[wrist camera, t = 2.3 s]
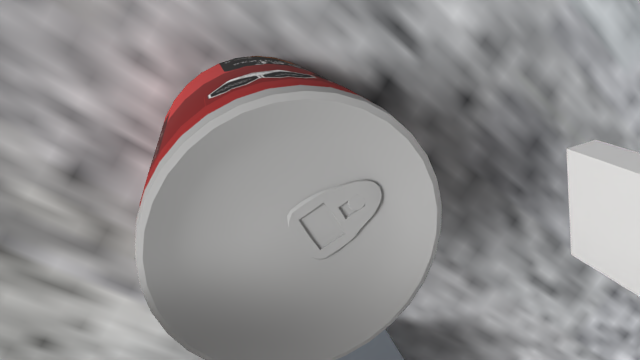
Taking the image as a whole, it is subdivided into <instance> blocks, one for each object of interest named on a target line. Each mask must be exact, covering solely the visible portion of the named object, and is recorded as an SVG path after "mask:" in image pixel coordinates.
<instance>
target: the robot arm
mask: <svg viewBox="0 0 640 360" xmlns="http://www.w3.org/2000/svg"><path fill="white" fill-rule="evenodd" d="M566 150H567V172H568V194H569V216H570V238H571V255H573V256H574V257H576V258H578V259H579V260H581V261H582V262H584V263H586V264H587V265H589V266H591V267H592V268H594V269H595V270H597V271H599V272H600V273H602V274H603V275H605V276H607V277H608V278H610V279H612V280H613V281H615V282H616V283H618V284H620V285H621V286H623V287H624V288H626V289H628V290H629V291H631V292H633V293H634V294H636V295H637V296H639V297H640V153H639V152H636V151H632V150H629V149H626V148H622V147H619V146H616V145H612V144H609V143H606V142H602V141H599V140H593V141H589V142H586V143H583V144H580V145H577V146H573V147H570V148H567V149H566Z"/></svg>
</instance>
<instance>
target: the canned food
mask: <svg viewBox="0 0 640 360" xmlns="http://www.w3.org/2000/svg"><path fill="white" fill-rule="evenodd" d="M441 215H442V203H441V198H440V192H439V186H438V181H437V178H436V175H435V173H434V170H433V168H432V166H431V163H430V161H429V158H428V156H427V154H426V153H425V152H424V150H423V149H422V147H421V146H420V145H419V143H418V142H417V140H416V139H415V138H414V136H413V135H412V134H411V133H410V132H409V131H408V130H407V129H406V128H405V127H404V126H403V125H402V124H401V123H400V122H398V121H397V120H396V119H395V118H394V117H393V116H392V115H391V114H389V113H388V112H387V111H386V110H385V109H383V108H381V107H380V106H378V105H376V104H374V103H372V102H371V101H369V100H367V99H365V98H364V97H362V96H360V95H358V94H356V93H354V92H353V91H351V90H349V89H347V88H345V87H343V86H340V85H338V84H336V83H334V82H332V81H330V80H327V79H325V78H323V77H321V76H319V75H317V74H315V73H312V72H310V71H308V70H306V69H304V68H302V67H299V66H297V65H295V64H293V63H290V62H287V61H284V60H280V59H277V58H272V57H261V56H251V57H242V58H235V59H232V60H229V61H226V62H222V63H219V64H217V65H215V66H213V67H212V68H210V69H208V70H206V71H204V72H202V73H201V74H200V75H198V76H197V77H196V78H195V79H194V80H192V81H191V82H190V83H189V84H187V85H186V87H185V88H184V89H183V90H182V92H181V93H180V94H179V95H178V96H177V98H176V99H175V100H174V102H173V104H172V106H171V108H170V110H169V112H168V114H167V115H166V118H165V121H164V124H163V128H162V131H161V134H160V137H159V141H158V144H157V147H156V150H155V154H154V157H153V160H152V163H151V167H150V170H149V173H148V177H147V180H146V184H145V187H144V191H143V194H142V198H141V201H140V208H139V212H138V215H137V219H136V233H135V261H136V267H137V272H138V278H139V284H140V288H141V290H142V292H143V294H144V297H145V299H146V301H147V304H148V306H149V308H150V310H151V312H152V314H153V315H154V316H155V318H156V319H157V320H158V322H159V323H160V324H161V325H162V327H163V328H164V329H165V331H166V332H167V333H168V334H169V335H170V336H171V337H172V338H174V339H175V340H176V341H177V342H178V343H180V344H181V345H182V346H183V347H184V348H186V349H187V350H188V351H190V352H192V353H194V354H195V355H197V356H199V357H201V358H203V359H205V360H336V359H338V358H341V357H343V356H346V355H348V354H349V353H351V352H353V351H354V350H356V349H358V348H360V347H361V346H363V345H365V344H366V343H368V342H370V341H371V340H372V339H374V338H375V337H376V336H377V335H379V334H380V333H381V332H382V331H383V330H385V329H386V328H387V327H388V326H390V325H391V324H392V323H393V322H394V321H395V320H396V318H397V317H398V316H399V315H400V314H401V313H402V312H403V311H404V310H405V309H406V307H407V306H408V305H409V304H410V303H411V301H412V300H413V298H414V297H415V295H416V293H417V292H418V290H419V289H420V287H421V286H422V284H423V283H424V281H425V279H426V277H427V274H428V272H429V270H430V267H431V265H432V263H433V260H434V258H435V255H436V250H437V246H438V242H439V237H440V233H441Z"/></svg>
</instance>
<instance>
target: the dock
mask: <svg viewBox="0 0 640 360" xmlns="http://www.w3.org/2000/svg"><path fill="white" fill-rule="evenodd" d="M336 360H404V359H403V357H402V355H401V354H400V352H399V350H398V349H397V347H396V346H395V344H394V342H393V341H392V339H391V337H390V336H389V334H388V332H387V331H386V329H385V330H383V331H382V332H381V333H380V334H379V335H377V336H376V337H375V338H374V339H372V340H371V341H370V342H368V343H366V344H365V345H363V346H361V347H360V348H358V349H356V350H354V351H353V352H351V353H349V354H348V355H346V356H343V357H341V358H338V359H336Z"/></svg>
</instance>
